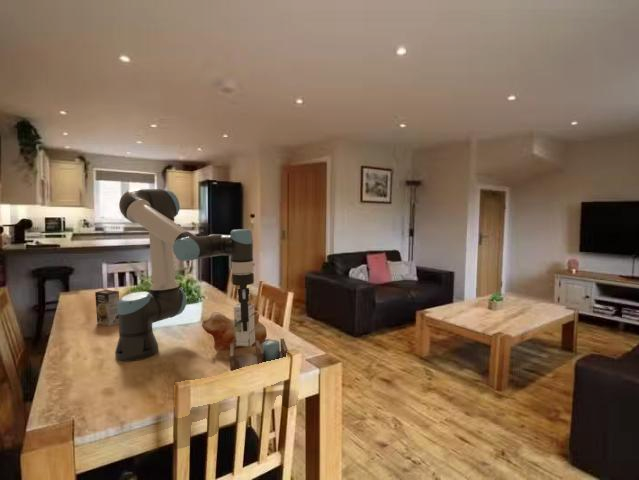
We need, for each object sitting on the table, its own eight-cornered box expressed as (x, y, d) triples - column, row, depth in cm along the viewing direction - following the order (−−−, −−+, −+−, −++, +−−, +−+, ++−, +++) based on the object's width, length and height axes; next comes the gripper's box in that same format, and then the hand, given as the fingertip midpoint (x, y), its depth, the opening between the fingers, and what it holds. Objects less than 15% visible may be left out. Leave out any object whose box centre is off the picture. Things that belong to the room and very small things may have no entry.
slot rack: (230, 373, 124) (229, 356, 124) (230, 359, 136) (230, 343, 136) (288, 367, 129) (287, 350, 128) (283, 353, 141) (283, 338, 140)
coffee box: (96, 324, 180) (94, 292, 178) (108, 320, 186) (106, 289, 184) (109, 326, 176) (107, 293, 175) (121, 322, 182) (119, 290, 181)
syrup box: (255, 341, 133) (254, 302, 132) (250, 347, 127) (248, 307, 126) (240, 340, 134) (239, 302, 133) (234, 346, 128) (233, 306, 127)
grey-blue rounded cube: (264, 362, 130) (263, 346, 129) (262, 356, 136) (262, 340, 135) (280, 361, 131) (280, 344, 131) (278, 354, 137) (278, 338, 136)
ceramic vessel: (200, 345, 151) (199, 310, 149) (262, 335, 162) (261, 302, 160) (205, 357, 138) (203, 319, 137) (271, 345, 149) (270, 310, 148)
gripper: (255, 277, 119) (257, 344, 121) (252, 267, 139) (254, 325, 141) (231, 278, 118) (234, 347, 120) (232, 268, 137) (234, 327, 139)
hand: (245, 335), depth 130 cm, fingers closed on syrup box, 7 cm apart
